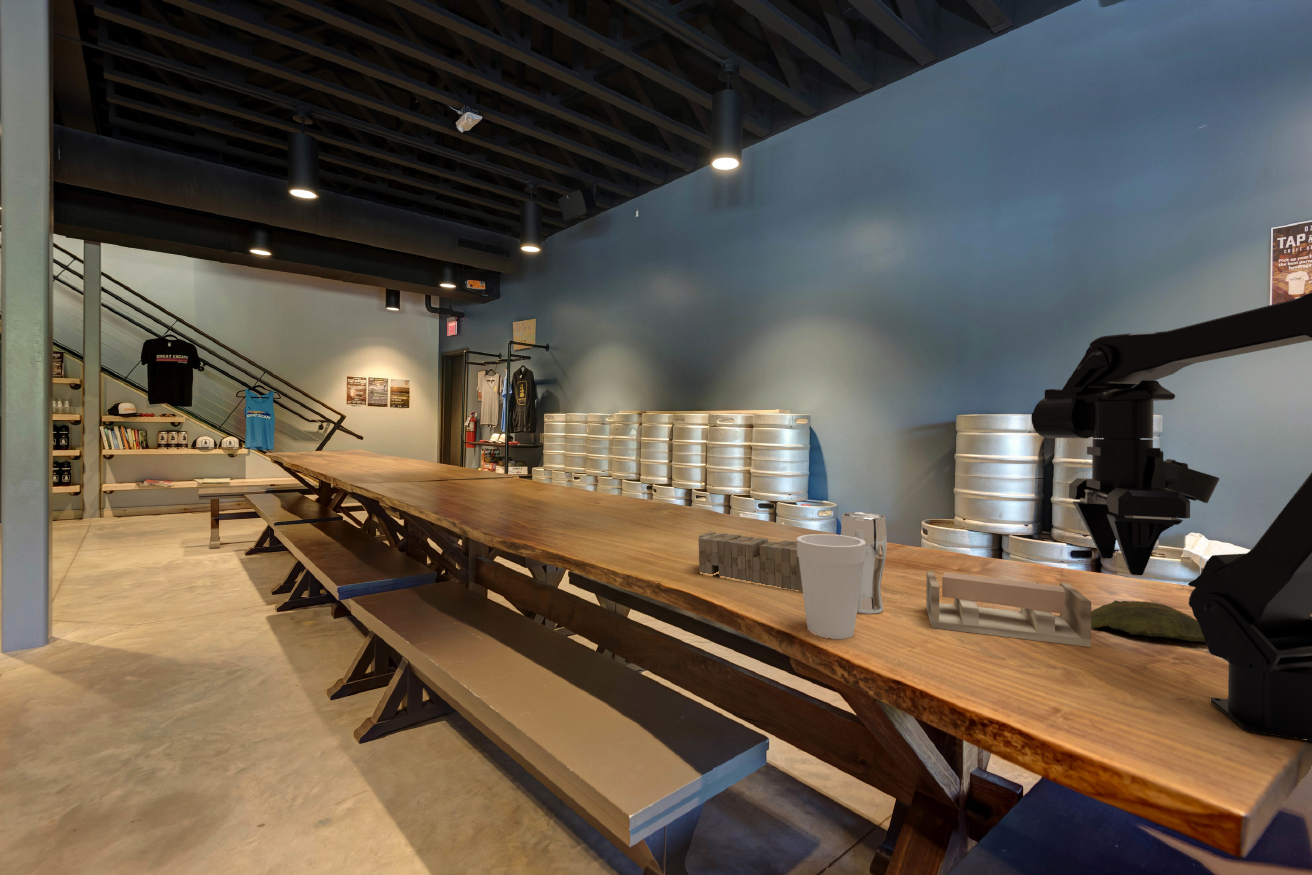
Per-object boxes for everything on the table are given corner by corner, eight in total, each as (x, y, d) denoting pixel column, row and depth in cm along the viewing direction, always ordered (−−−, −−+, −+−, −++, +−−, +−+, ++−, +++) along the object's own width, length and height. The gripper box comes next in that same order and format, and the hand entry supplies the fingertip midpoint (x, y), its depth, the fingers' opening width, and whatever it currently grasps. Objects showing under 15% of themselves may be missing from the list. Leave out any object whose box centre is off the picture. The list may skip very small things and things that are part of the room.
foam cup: (813, 615, 86) (813, 531, 86) (874, 629, 80) (874, 539, 80) (785, 632, 79) (785, 540, 79) (850, 648, 73) (850, 549, 73)
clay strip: (1062, 607, 79) (1062, 586, 79) (1064, 614, 76) (1064, 592, 76) (944, 591, 87) (944, 572, 87) (942, 596, 84) (942, 576, 84)
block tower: (692, 579, 112) (839, 599, 95) (691, 537, 112) (837, 550, 95) (712, 571, 118) (852, 589, 101) (711, 531, 118) (851, 542, 101)
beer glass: (836, 610, 89) (837, 516, 88) (844, 599, 95) (844, 511, 95) (883, 617, 85) (884, 519, 85) (888, 605, 92) (888, 514, 91)
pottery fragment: (1190, 659, 71) (1190, 627, 71) (1067, 624, 83) (1067, 596, 83) (1235, 642, 77) (1236, 612, 77) (1114, 612, 89) (1114, 586, 89)
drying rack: (1090, 646, 74) (1091, 601, 74) (931, 627, 81) (931, 586, 81) (1067, 623, 83) (1068, 582, 83) (926, 607, 90) (926, 570, 90)
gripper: (1256, 440, 57) (1254, 593, 57) (1169, 438, 74) (1168, 556, 74) (1120, 439, 61) (1119, 582, 61) (1068, 438, 78) (1067, 549, 78)
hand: (1120, 565), depth 68 cm, fingers open, 9 cm apart
